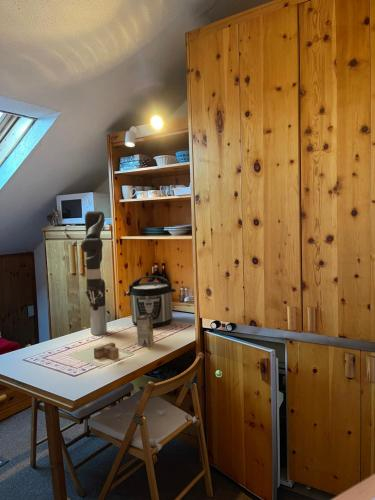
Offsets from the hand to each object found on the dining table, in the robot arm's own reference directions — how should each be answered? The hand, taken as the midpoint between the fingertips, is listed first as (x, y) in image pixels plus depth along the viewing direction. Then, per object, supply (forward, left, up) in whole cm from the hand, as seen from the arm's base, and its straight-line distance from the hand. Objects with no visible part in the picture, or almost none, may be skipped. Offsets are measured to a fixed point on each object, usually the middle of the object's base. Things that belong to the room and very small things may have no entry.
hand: (95, 310), depth 198 cm
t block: (+13, -3, -22) cm, 25 cm away
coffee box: (+13, +22, -23) cm, 34 cm away
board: (+5, -3, -23) cm, 23 cm away
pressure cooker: (-16, +56, -23) cm, 63 cm away
